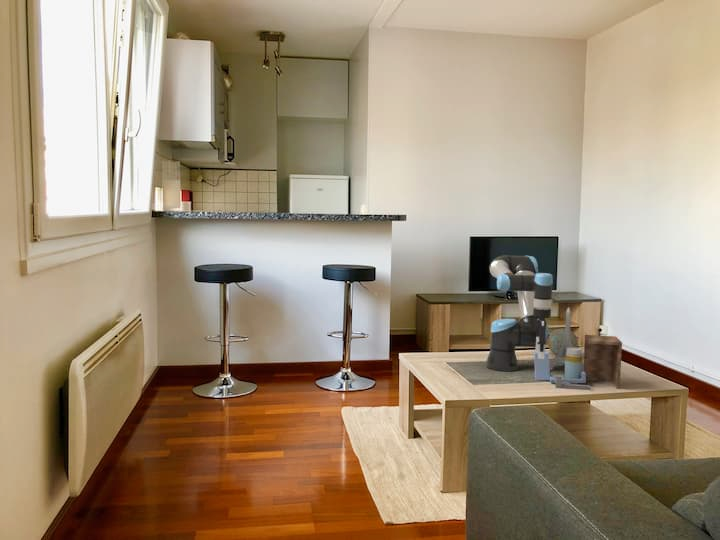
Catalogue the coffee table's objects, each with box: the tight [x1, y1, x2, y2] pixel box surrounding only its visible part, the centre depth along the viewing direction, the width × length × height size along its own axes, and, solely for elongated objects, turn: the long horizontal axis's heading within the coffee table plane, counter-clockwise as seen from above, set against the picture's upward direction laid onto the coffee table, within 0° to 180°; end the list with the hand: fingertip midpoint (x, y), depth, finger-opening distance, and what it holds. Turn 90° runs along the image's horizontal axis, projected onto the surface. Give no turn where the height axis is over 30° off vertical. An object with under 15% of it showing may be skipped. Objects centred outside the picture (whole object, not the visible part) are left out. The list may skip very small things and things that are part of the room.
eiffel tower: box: [549, 307, 583, 371], centre depth 282 cm, size 13×13×30 cm
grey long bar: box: [554, 374, 591, 391], centre depth 251 cm, size 14×2×5 cm, turn 77°
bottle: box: [563, 347, 583, 385], centre depth 260 cm, size 7×7×15 cm
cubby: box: [582, 334, 623, 390], centre depth 258 cm, size 13×13×20 cm
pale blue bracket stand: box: [533, 351, 587, 384], centre depth 261 cm, size 20×10×12 cm, turn 78°
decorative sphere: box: [546, 327, 579, 356], centre depth 308 cm, size 15×15×15 cm
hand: (539, 354), depth 264 cm, fingers open, 13 cm apart
